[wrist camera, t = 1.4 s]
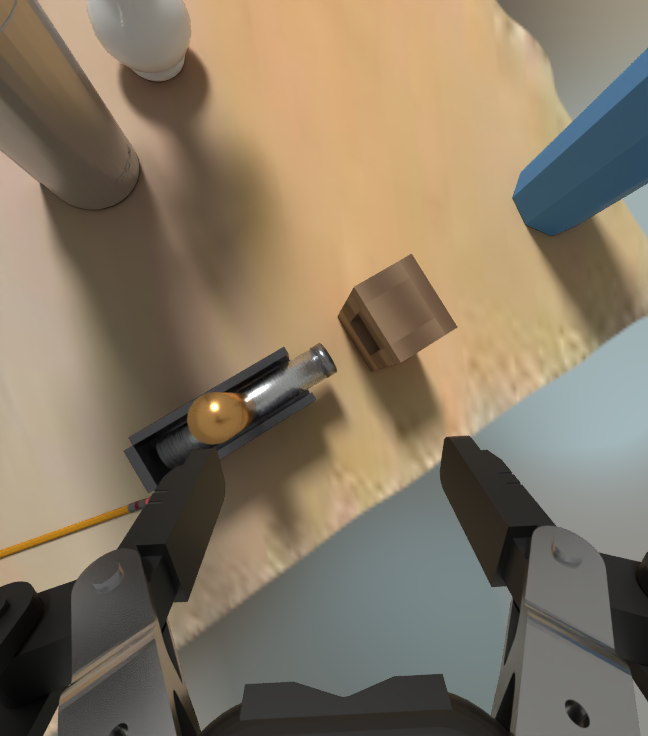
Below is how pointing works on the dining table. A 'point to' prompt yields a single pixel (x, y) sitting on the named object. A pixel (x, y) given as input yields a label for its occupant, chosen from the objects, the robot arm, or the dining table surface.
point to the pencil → (74, 528)
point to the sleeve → (154, 469)
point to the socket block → (394, 315)
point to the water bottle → (590, 158)
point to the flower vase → (143, 34)
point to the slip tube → (243, 406)
